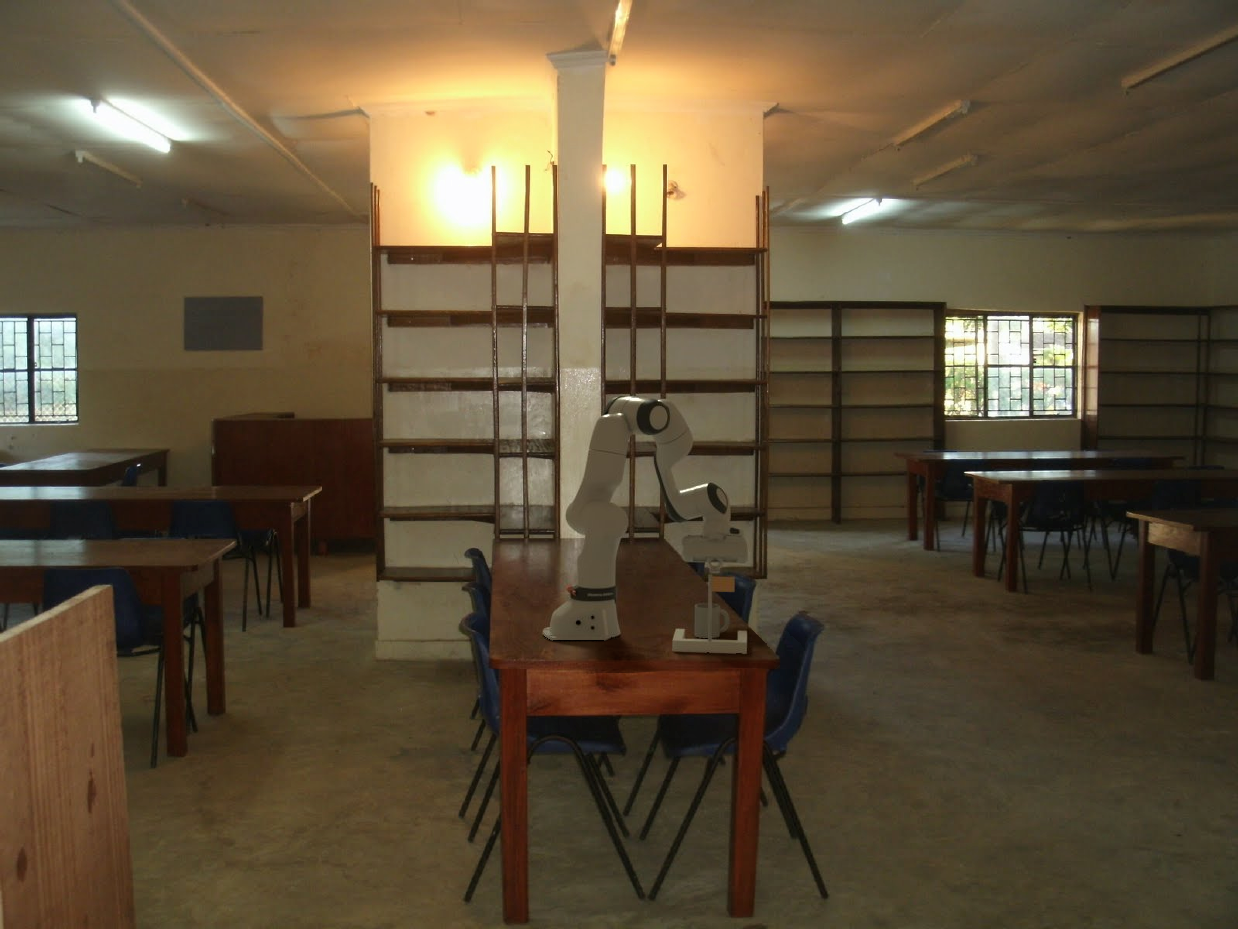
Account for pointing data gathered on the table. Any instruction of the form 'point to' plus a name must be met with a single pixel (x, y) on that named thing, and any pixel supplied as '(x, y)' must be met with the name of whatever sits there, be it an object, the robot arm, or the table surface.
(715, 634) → the cup
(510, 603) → the table surface
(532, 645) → the table surface
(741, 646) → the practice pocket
